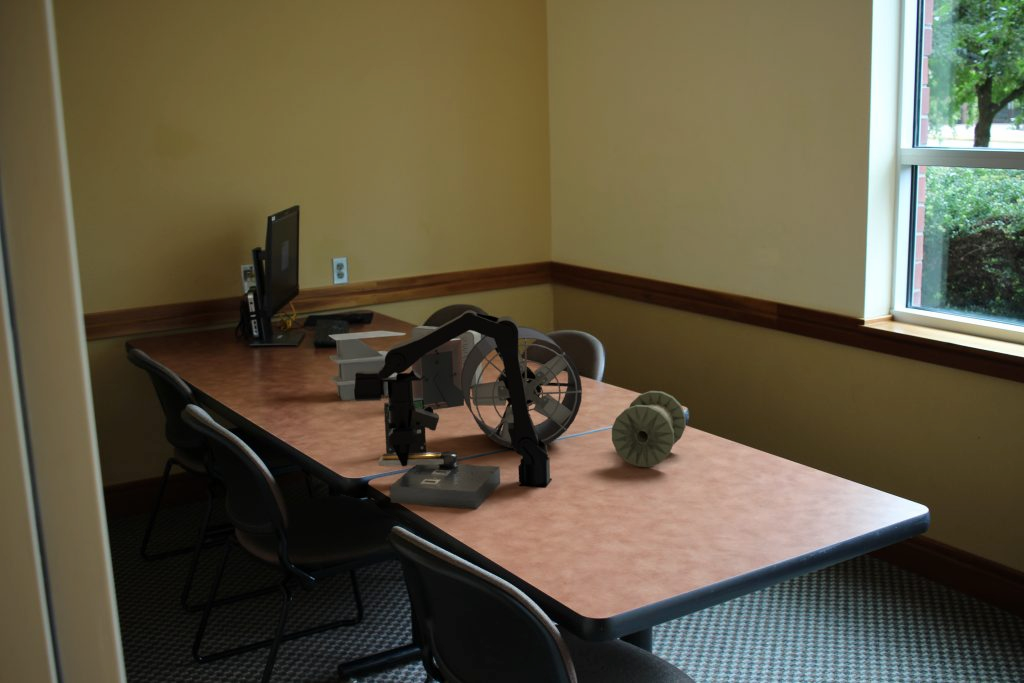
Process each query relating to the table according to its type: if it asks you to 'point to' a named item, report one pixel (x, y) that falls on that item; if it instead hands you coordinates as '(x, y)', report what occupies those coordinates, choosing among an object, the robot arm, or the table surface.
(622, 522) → the table surface
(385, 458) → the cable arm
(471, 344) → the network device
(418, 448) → the disk drive
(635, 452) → the spool
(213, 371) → the table surface
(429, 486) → the grey flat block
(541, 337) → the ventilation fan
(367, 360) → the file organizer
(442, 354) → the picture frame
